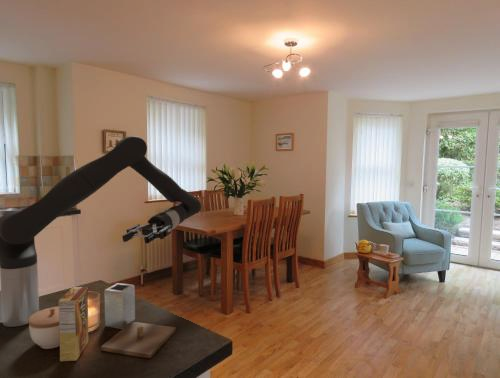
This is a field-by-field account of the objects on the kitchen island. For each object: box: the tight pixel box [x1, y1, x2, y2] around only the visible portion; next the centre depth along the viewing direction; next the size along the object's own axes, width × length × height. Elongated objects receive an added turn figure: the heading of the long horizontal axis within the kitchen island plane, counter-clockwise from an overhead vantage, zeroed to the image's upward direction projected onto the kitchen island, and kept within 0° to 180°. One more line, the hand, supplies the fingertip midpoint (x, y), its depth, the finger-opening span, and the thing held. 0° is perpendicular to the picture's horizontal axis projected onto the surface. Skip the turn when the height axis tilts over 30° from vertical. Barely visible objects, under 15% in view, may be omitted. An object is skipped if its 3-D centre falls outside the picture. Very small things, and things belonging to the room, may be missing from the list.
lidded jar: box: [28, 305, 60, 350], centre depth 88 cm, size 11×11×9 cm
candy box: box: [58, 286, 89, 363], centre depth 84 cm, size 9×4×15 cm, turn 9°
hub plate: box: [100, 321, 177, 359], centre depth 90 cm, size 14×14×4 cm
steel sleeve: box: [104, 282, 136, 330], centre depth 99 cm, size 6×6×11 cm
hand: (134, 240), depth 104 cm, fingers open, 8 cm apart
